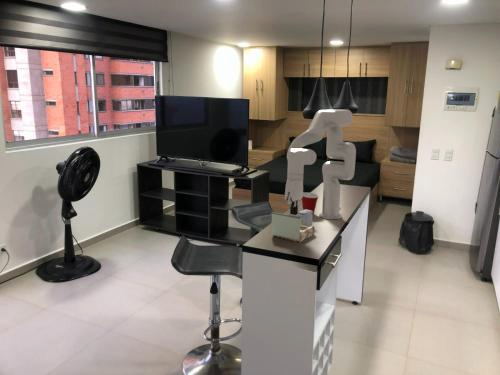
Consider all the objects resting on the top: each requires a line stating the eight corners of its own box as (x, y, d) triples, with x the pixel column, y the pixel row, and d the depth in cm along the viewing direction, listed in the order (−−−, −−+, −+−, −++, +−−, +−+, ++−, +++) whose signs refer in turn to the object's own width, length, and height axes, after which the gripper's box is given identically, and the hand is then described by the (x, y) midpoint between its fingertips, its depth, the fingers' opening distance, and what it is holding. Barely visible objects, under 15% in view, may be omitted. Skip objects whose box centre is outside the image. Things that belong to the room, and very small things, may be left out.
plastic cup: (318, 217, 230) (319, 196, 228) (298, 216, 232) (299, 195, 230) (318, 212, 241) (319, 192, 238) (300, 211, 243) (301, 191, 240)
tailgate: (272, 233, 197) (272, 211, 195) (299, 239, 188) (300, 216, 186) (271, 233, 196) (271, 212, 194) (298, 240, 187) (299, 217, 185)
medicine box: (305, 225, 216) (305, 209, 214) (312, 226, 213) (313, 210, 212) (296, 228, 210) (297, 212, 208) (304, 230, 207) (304, 213, 206)
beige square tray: (287, 229, 209) (287, 220, 208) (314, 234, 200) (314, 225, 199) (272, 236, 197) (272, 227, 197) (300, 242, 189) (300, 233, 188)
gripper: (296, 173, 201) (294, 210, 204) (280, 177, 189) (278, 216, 192) (309, 175, 197) (308, 212, 200) (294, 179, 185) (292, 218, 188)
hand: (293, 214), depth 196 cm, fingers closed
